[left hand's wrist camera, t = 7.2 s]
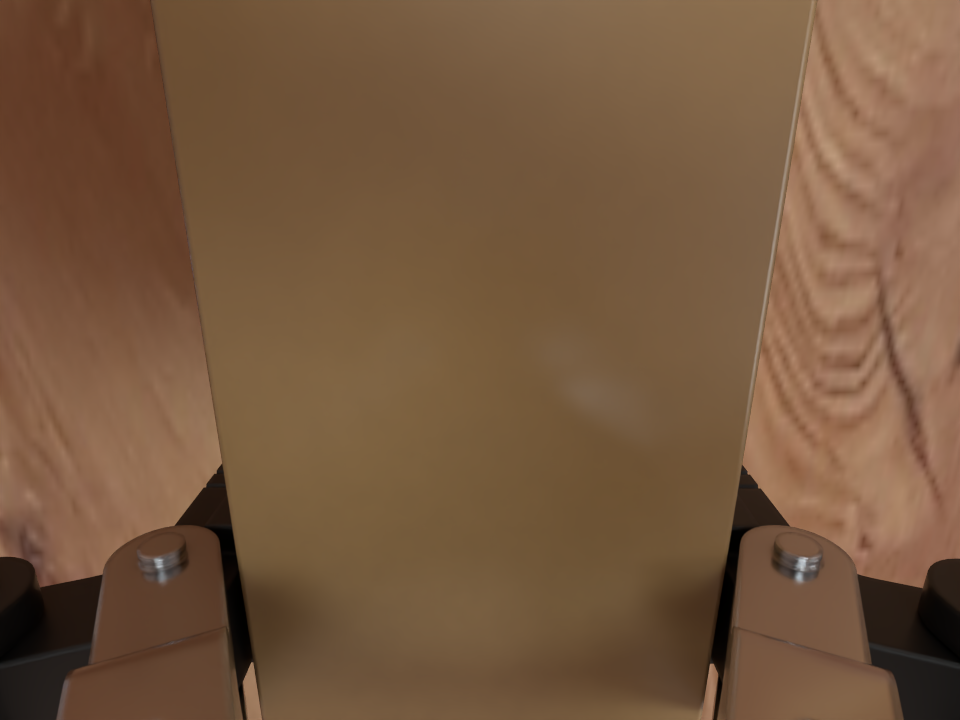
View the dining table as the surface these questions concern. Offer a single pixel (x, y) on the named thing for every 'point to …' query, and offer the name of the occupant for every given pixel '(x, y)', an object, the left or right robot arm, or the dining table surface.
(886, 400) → the dining table surface
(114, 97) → the dining table surface
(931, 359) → the dining table surface
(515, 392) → the box
